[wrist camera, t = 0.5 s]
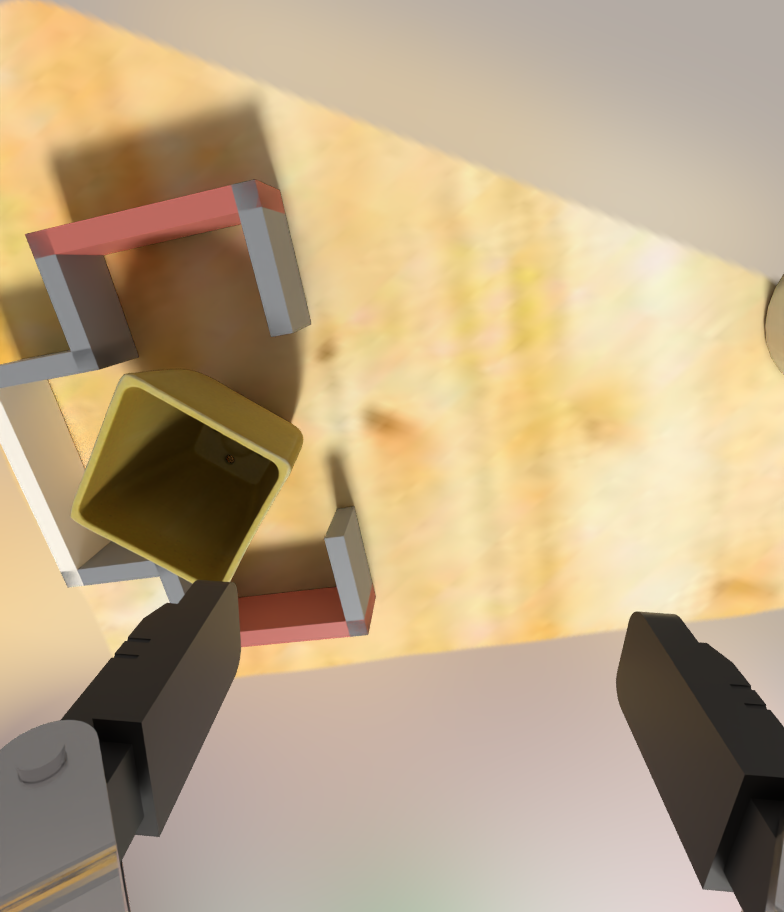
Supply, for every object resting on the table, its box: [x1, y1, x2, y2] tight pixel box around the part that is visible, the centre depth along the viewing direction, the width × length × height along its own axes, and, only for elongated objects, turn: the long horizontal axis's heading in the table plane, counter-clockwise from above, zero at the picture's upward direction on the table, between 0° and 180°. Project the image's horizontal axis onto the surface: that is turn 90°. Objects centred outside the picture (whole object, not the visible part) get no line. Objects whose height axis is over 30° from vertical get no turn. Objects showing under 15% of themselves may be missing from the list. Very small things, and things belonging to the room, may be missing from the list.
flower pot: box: [70, 369, 303, 584], centre depth 29 cm, size 9×9×9 cm
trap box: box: [0, 179, 376, 647], centre depth 32 cm, size 26×19×4 cm
